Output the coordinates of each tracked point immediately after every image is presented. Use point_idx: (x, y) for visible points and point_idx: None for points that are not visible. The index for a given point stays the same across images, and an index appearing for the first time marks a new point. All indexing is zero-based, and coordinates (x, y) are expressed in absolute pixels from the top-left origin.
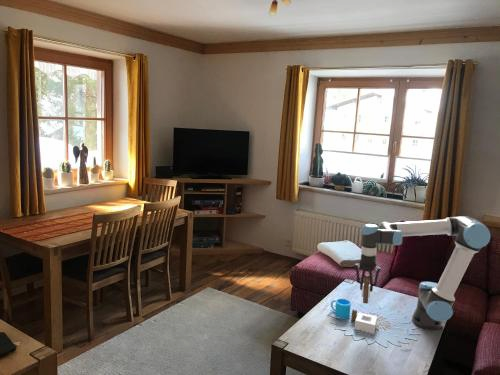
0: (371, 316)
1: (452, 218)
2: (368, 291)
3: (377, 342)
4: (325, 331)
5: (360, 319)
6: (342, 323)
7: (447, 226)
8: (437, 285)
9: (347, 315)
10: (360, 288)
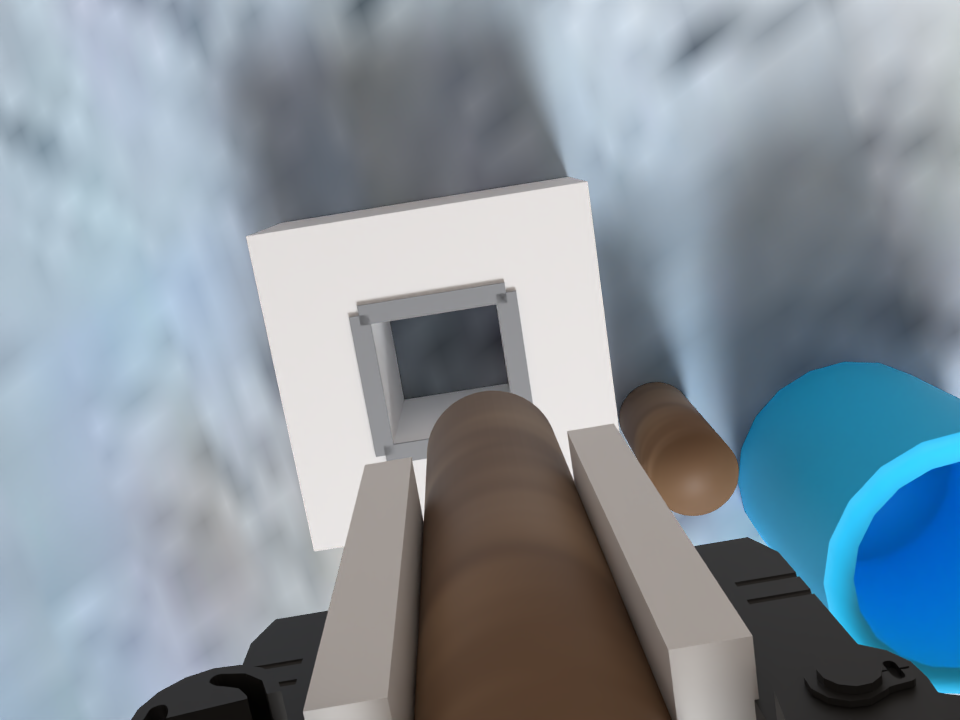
0: None
1: None
2: (397, 554)
3: (153, 3)
4: None
5: (520, 273)
6: (777, 231)
7: None
8: None
9: (773, 432)
10: (766, 564)
